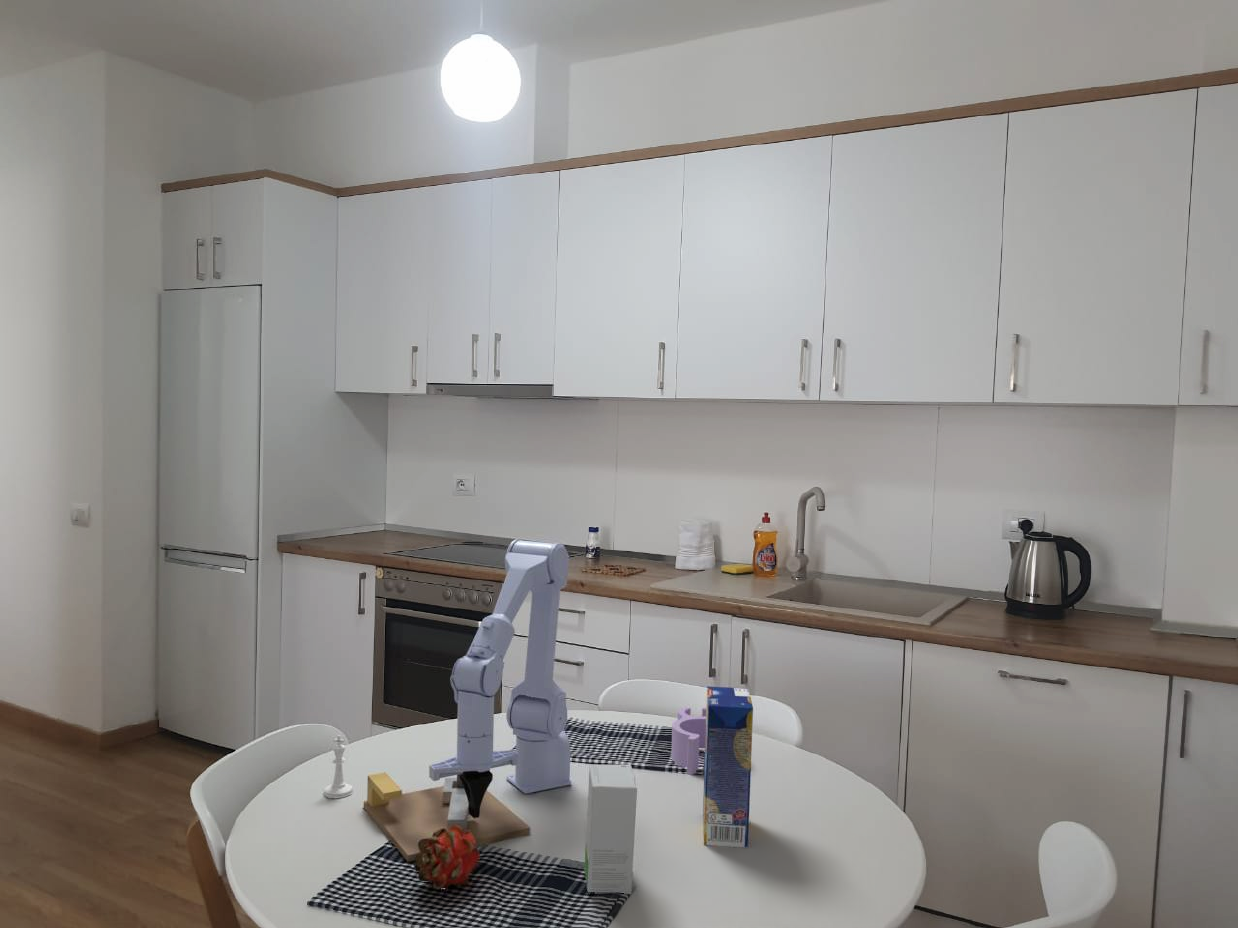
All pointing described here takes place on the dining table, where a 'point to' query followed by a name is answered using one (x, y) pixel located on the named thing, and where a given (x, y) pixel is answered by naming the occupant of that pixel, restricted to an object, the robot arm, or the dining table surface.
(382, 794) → the block
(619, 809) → the skincare box
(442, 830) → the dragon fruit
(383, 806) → the board
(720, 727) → the beverage box
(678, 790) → the dining table surface
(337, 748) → the chess piece
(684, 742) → the clip
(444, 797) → the link
